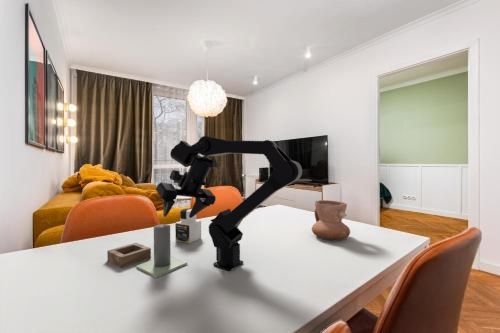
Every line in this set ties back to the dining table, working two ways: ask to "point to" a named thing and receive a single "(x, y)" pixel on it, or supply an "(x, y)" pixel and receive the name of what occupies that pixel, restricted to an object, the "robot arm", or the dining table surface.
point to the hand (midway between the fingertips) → (177, 216)
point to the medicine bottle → (187, 227)
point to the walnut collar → (128, 254)
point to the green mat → (157, 271)
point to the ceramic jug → (330, 220)
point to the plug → (162, 245)
